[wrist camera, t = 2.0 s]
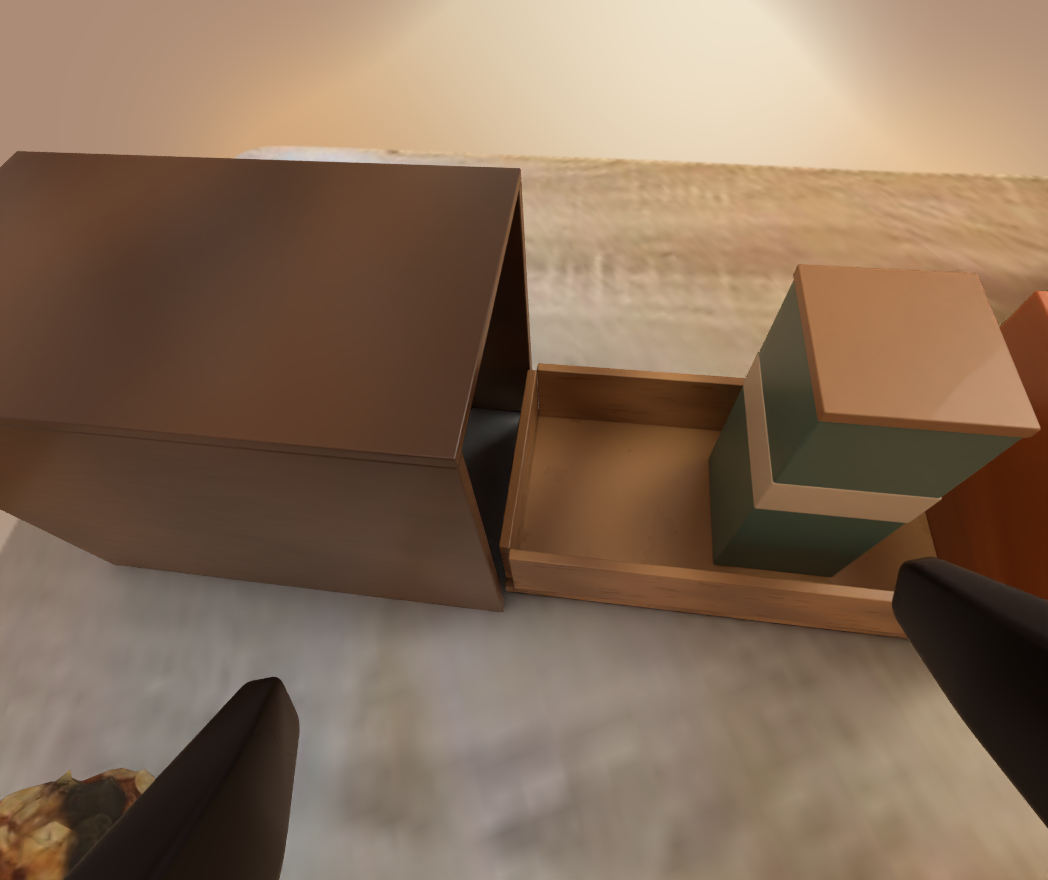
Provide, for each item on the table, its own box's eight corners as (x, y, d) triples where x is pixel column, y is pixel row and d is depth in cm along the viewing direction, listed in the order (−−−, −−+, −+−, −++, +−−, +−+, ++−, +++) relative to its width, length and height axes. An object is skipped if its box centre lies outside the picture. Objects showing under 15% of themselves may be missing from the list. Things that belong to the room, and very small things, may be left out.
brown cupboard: (534, 404, 28) (520, 167, 17) (503, 612, 23) (455, 460, 12) (211, 378, 30) (16, 150, 19) (113, 564, 25) (-236, 395, 14)
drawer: (943, 433, 26) (1101, 293, 18) (1016, 673, 20) (1281, 612, 13) (534, 401, 28) (526, 262, 20) (502, 610, 22) (476, 527, 15)
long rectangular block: (816, 466, 24) (977, 272, 15) (833, 579, 22) (1042, 429, 12) (706, 456, 25) (797, 263, 16) (711, 566, 22) (824, 412, 13)
